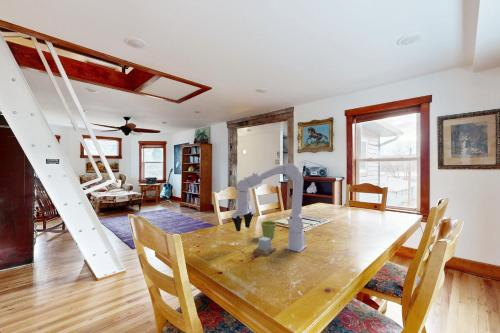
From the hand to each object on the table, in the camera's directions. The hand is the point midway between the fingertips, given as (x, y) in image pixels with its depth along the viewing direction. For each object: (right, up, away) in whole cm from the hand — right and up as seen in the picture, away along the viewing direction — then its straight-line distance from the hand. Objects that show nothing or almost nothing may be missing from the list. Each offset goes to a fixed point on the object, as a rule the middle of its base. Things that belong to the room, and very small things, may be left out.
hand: (242, 229), depth 118 cm
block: (+11, -9, -4) cm, 15 cm away
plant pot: (+15, -10, +17) cm, 24 cm away
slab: (+11, -11, -4) cm, 16 cm away
